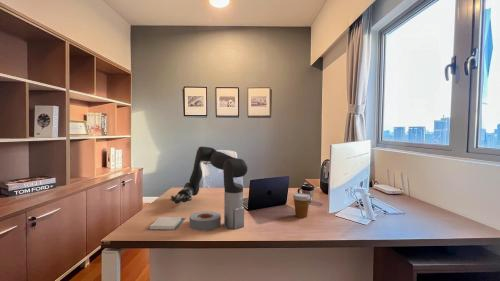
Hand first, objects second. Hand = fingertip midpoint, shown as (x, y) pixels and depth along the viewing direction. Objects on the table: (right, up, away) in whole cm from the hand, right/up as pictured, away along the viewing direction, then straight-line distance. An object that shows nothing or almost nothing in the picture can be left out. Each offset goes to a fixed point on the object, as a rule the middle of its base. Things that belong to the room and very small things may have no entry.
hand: (176, 201), depth 145 cm
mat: (0, -8, -15) cm, 17 cm away
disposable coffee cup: (+70, -8, 0) cm, 70 cm away
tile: (0, -6, -11) cm, 12 cm away
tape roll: (+19, -8, -16) cm, 26 cm away
